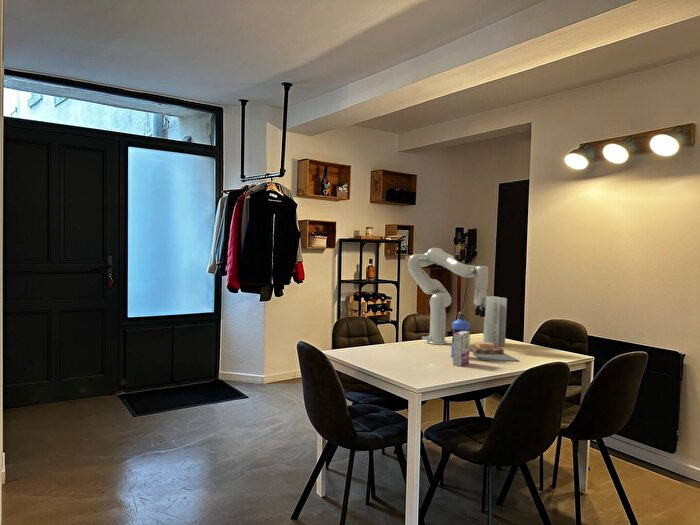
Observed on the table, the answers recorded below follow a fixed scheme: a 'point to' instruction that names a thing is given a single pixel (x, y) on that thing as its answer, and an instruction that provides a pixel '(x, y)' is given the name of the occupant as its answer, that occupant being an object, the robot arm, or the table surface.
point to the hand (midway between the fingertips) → (480, 315)
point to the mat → (495, 357)
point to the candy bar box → (461, 348)
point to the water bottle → (459, 327)
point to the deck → (485, 350)
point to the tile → (484, 344)
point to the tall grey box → (495, 320)
